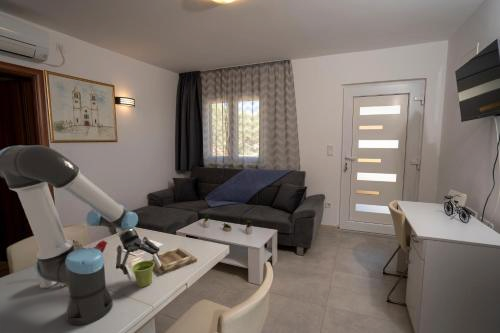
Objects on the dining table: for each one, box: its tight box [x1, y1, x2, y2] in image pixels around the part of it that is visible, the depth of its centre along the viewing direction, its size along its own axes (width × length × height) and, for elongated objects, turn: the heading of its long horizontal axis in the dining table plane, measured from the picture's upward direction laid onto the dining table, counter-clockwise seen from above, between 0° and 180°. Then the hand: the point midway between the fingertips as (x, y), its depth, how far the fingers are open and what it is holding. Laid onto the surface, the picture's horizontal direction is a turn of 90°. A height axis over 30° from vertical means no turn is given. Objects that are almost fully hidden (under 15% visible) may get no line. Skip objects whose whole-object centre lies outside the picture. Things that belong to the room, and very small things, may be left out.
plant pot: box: [131, 260, 154, 288], centre depth 115 cm, size 9×9×9 cm
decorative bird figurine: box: [92, 240, 109, 254], centre depth 138 cm, size 3×18×10 cm, turn 129°
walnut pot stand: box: [149, 246, 198, 276], centre depth 134 cm, size 20×16×4 cm
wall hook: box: [35, 273, 66, 289], centre depth 115 cm, size 8×10×10 cm
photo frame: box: [122, 239, 164, 257], centre depth 154 cm, size 15×1×18 cm
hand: (146, 273), depth 114 cm, fingers open, 13 cm apart
